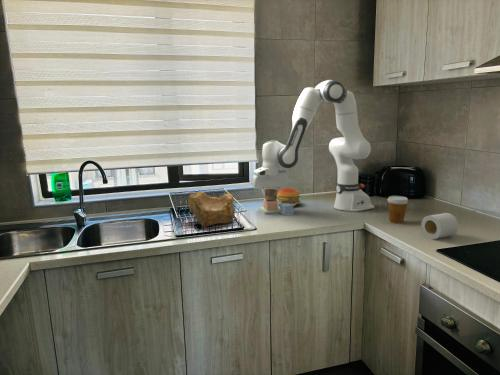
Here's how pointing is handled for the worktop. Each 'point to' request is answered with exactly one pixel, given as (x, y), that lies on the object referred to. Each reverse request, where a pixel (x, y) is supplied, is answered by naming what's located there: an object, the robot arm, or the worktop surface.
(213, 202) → the rough brown rock
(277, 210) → the baseplate
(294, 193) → the burger
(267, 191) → the walnut block
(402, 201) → the disposable coffee cup
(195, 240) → the worktop surface
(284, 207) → the slate blue block
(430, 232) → the toilet paper
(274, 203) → the terracotta block
